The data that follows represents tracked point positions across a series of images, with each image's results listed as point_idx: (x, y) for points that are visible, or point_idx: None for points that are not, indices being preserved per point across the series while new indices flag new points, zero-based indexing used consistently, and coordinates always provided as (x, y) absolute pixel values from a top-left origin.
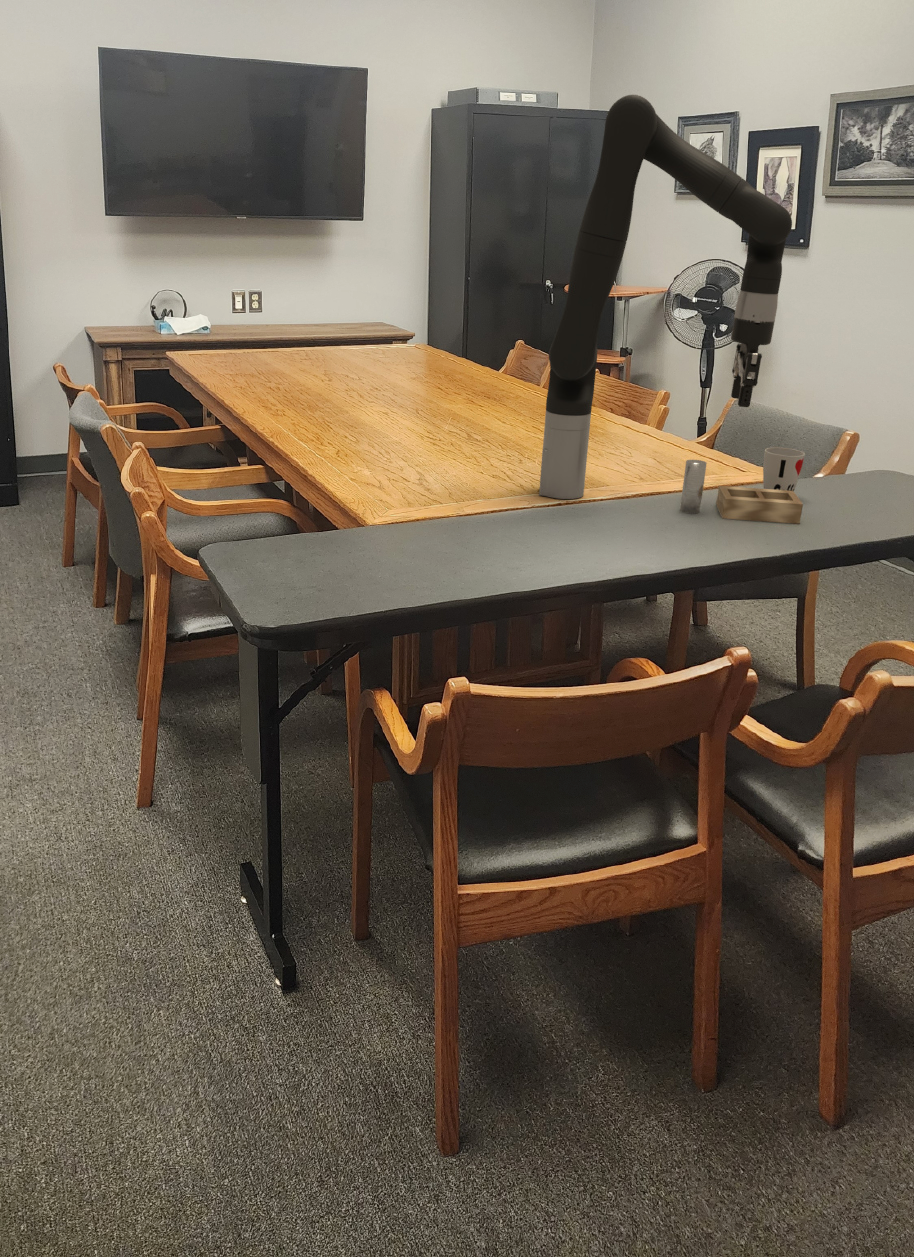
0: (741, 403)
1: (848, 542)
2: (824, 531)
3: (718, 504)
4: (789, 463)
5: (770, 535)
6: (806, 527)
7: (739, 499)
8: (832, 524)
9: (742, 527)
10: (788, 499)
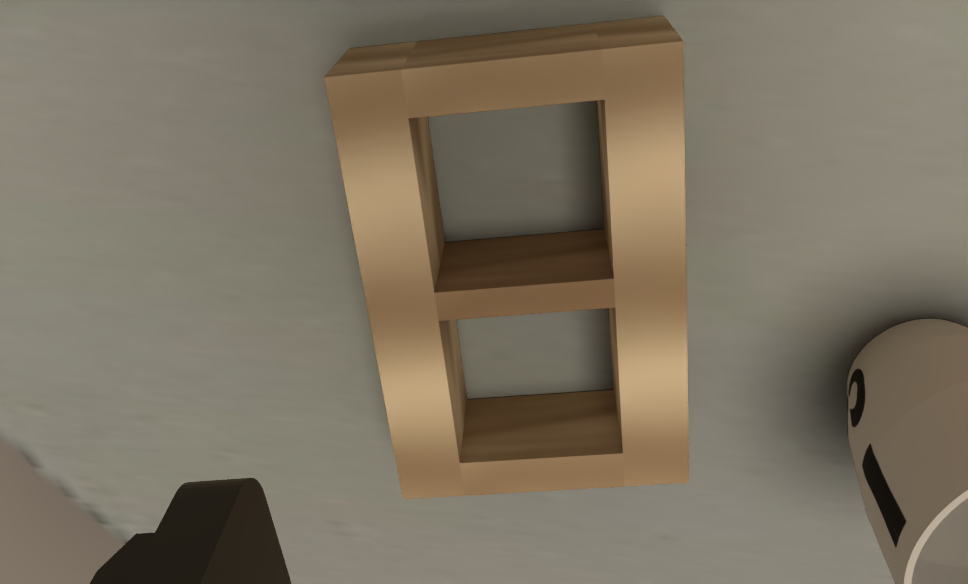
0: (125, 547)
1: None
2: (334, 517)
3: (574, 30)
4: (887, 553)
5: (138, 287)
6: (366, 455)
7: (347, 170)
8: (468, 560)
9: (214, 156)
10: (586, 438)
